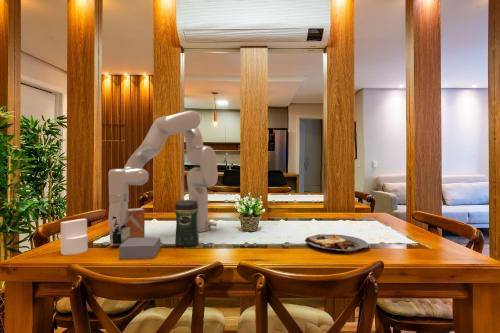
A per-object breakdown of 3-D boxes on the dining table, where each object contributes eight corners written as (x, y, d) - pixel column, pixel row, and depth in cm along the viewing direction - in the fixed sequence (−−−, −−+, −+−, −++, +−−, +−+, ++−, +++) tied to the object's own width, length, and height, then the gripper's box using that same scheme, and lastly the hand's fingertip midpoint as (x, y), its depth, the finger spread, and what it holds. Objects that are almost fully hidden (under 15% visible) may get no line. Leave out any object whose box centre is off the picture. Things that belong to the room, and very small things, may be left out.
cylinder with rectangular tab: (68, 256, 113) (68, 224, 113) (56, 252, 118) (55, 221, 117) (92, 250, 121) (91, 220, 120) (79, 246, 125) (79, 217, 125)
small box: (126, 240, 135) (125, 211, 134) (123, 237, 140) (123, 209, 140) (145, 238, 139) (144, 209, 139) (141, 235, 144) (141, 207, 144)
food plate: (331, 257, 111) (332, 248, 111) (294, 243, 131) (294, 234, 131) (379, 250, 122) (379, 241, 122) (337, 237, 143) (338, 230, 143)
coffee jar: (199, 241, 133) (199, 199, 133) (196, 246, 125) (196, 201, 125) (177, 241, 133) (177, 199, 133) (173, 246, 125) (172, 201, 125)
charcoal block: (160, 249, 122) (160, 237, 122) (153, 259, 110) (153, 245, 110) (129, 250, 121) (129, 238, 121) (119, 260, 109) (119, 246, 109)
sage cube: (130, 241, 131) (129, 227, 131) (124, 245, 125) (124, 230, 125) (116, 241, 131) (115, 227, 131) (110, 245, 125) (109, 230, 125)
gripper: (118, 195, 136) (119, 236, 136) (100, 201, 118) (101, 247, 119) (135, 195, 136) (136, 235, 137) (119, 201, 119) (121, 247, 119)
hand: (120, 241), depth 128 cm, fingers closed on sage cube, 6 cm apart
